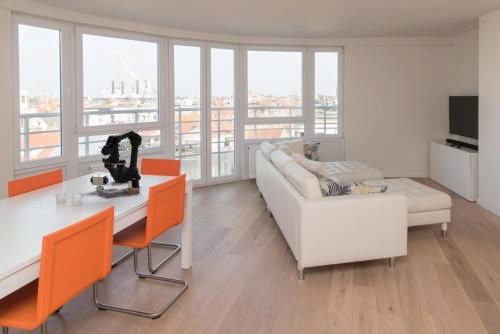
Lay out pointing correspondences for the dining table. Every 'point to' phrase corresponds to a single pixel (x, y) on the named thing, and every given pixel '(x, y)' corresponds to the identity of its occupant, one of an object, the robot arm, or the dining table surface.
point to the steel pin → (129, 185)
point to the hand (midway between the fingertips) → (115, 175)
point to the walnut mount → (131, 191)
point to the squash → (120, 175)
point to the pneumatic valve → (99, 181)
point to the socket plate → (111, 192)
